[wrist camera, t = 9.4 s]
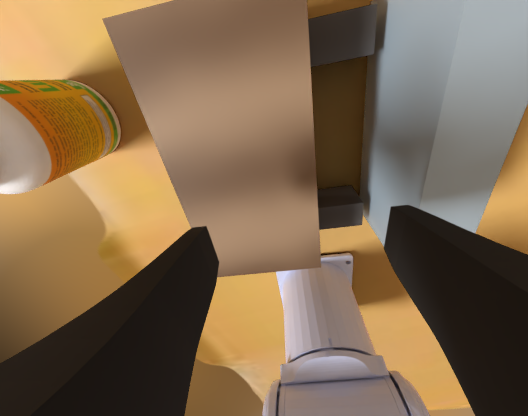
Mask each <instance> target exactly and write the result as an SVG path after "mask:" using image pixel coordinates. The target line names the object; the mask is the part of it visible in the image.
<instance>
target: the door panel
mask: <svg viewBox="0 0 528 416" xmlns="http://www.w3.org/2000/svg"><path fill="white" fill-rule="evenodd" d="M377 3H378V5H377V19H376V33H375V47H374V54H372V55H368V56H367V74H366V91H365V109H364V126H363V143H362V161H361V178H360V196H359V197H360V198H361V200H362V201H363V215H364V217H365V218H366V220H367V221H368V223H369V224H370V226H371V227H372V229H373V230H374V232H375V234H376V235H377V237H378V238H379V240H380V241H381V243H382V244H383V246H384V244H385V238H386V232H387V226H388V220H389V214H390V208H391V206H400V205H410V206H413V207H416V208H418V209H421V210H423V211H426V212H428V213H430V214H432V215H435V216H437V217H439V218H441V219H444V220H446V221H448V222H450V223H453V224H455V225H457V226H459V227H461V228H464V229H466V230H468V231H471V232H473V233H475V232H476V230H477V227H478V225H479V223H480V220H481V218H482V215H483V213H484V210H485V208H486V205H487V203H488V200H489V198H490V195H491V193H492V190H493V188H494V186H495V183H496V181H497V178H498V176H499V173H500V171H501V168H502V166H503V163H504V161H505V158H506V156H507V153H508V151H509V148H510V146H511V144H512V141H513V139H514V136H515V134H516V131H517V129H518V126H519V124H520V121H521V119H522V116H523V114H524V111H525V109H526V107H527V104H528V0H373V1H371V4H370V5H372V4H377Z"/></svg>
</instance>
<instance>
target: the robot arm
mask: <svg viewBox="0 0 528 416" xmlns="http://www.w3.org/2000/svg"><path fill="white" fill-rule="evenodd" d="M384 250H385V252H386V254H387V257H388V259H389V261H390V263H391V265H392V267H393V269H394V272H395V273H396V275H397V276H398V278H399V280H400V281H401V283H402V284H403V286H404V288H405V289H406V291H407V292H408V294H409V296H410V297H411V299H412V300H413V302H414V303H415V305H416V307H417V308H418V310H419V311H420V313H421V314H422V316H423V318H424V319H425V321H426V322H427V324H428V325H429V327H430V329H431V330H432V332H433V334H434V335H435V337H436V339H437V341H438V342H439V344H440V346H441V348H442V350H443V352H444V354H445V356H446V357H447V359H448V361H449V363H450V365H451V367H452V369H453V371H454V373H455V375H456V377H457V379H458V381H459V383H460V385H461V387H462V389H463V391H464V393H465V395H466V397H467V399H468V402H469V404H470V406H471V408H472V410H473V412H474V414H475V416H528V255H527V254H524V253H522V252H519V251H517V250H514V249H511V248H509V247H506V246H504V245H501V244H499V243H496V242H494V241H492V240H489V239H487V238H485V237H482V236H480V235H478V234H475V233H473V232H471V231H468V230H466V229H464V228H461V227H459V226H457V225H455V224H453V223H450V222H448V221H446V220H444V219H441V218H439V217H437V216H435V215H432V214H430V213H428V212H426V211H423V210H421V209H418V208H416V207H413V206H410V205H400V206H391V208H390V214H389V220H388V226H387V232H386V238H385V244H384ZM346 261H348V262H346ZM218 268H219V260H218V257H217V254H216V251H215V248H214V246H213V243H212V240H211V237H210V234H209V231H208V229H207V226H202V227H193V228H191V229H190V230H189V231H187V232H186V233H185V234H184V235H182V236H181V237H180V238H179V239H178V240H177V241H175V242H174V243H173V244H172V245H171V246H170V247H169V248H167V249H166V250H165V251H164V252H163V253H162V254H160V255H159V256H158V257H157V258H156V259H155V260H153V261H152V262H151V263H150V264H149V265H147V266H146V267H145V268H144V269H142V270H141V271H140V272H139V273H138V274H136V275H135V276H134V277H133V278H131V279H130V280H129V281H128V282H126V283H125V284H124V285H123V286H121V287H120V288H118V289H117V290H116V291H114V292H113V293H112V294H110V295H109V296H108V297H106V298H105V299H103V300H102V301H100V302H99V303H98V304H96V305H95V306H93V307H92V308H90V309H89V310H87V311H86V312H85V313H83V314H81V315H80V316H78V317H77V318H75V319H73V320H72V321H70V322H69V323H67V324H66V325H64V326H62V327H61V328H59V329H58V330H56V331H54V332H53V333H51V334H50V335H48V336H47V337H45V338H43V339H42V340H40V341H38V342H37V343H35V344H33V345H31V346H30V347H28V348H26V349H25V350H23V351H21V352H19V353H18V354H16V355H14V356H13V357H11V358H9V359H7V360H6V361H4V362H2V363H0V416H184V414H185V408H186V403H187V398H188V392H189V386H190V381H191V376H192V371H193V366H194V361H195V356H196V352H197V348H198V344H199V340H200V337H201V333H202V330H203V327H204V323H205V320H206V317H207V313H208V310H209V307H210V303H211V300H212V296H213V293H214V289H215V286H216V281H217V275H218ZM352 273H353V256H352V254H350V253H343V254H333V255H323V256H321V268H311V269H300V270H289V271H278V272H276V274H277V279H278V284H279V289H280V294H281V299H282V304H283V309H284V329H285V353H286V364H281V365H280V368H281V380H275V381H273V383H272V384H271V387H270V389H269V390H268V392H267V394H266V397H265V401H264V407H263V416H430V415H429V413H428V410H427V408H426V406H425V405H424V403H423V401H422V399H421V397H420V395H419V394H418V392H417V391H416V389H415V388H414V386H413V385H412V384H411V383H410V382H409V381H408V380H407V379H405V378H404V377H403V376H402V375H401V374H400V373H399V372H398V371H388V370H387V367H386V365H385V362H384V359H383V357H382V356H381V355H376V353H375V350H374V347H373V345H372V342H371V339H370V336H369V334H368V331H367V328H366V326H365V323H364V320H363V317H362V315H361V312H360V309H359V307H358V304H357V301H356V299H355V296H354V293H353V290H352Z"/></svg>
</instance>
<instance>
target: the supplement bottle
mask: <svg viewBox="0 0 528 416" xmlns="http://www.w3.org/2000/svg"><path fill="white" fill-rule="evenodd" d="M120 138H121V128H120V124H119V121H118V118H117V116H116V114H115V112H114V110H113V108H112V107H111V106H110V104H109V103H108V102H107V101H106V100H105V98H104V97H102V96H101V95H100V94H99V93H98V92H97V91H95V90H94V89H92V88H91V87H89V86H87V85H85V84H83V83H80V82H77V81H72V80H20V81H0V193H3V194H18V193H23V192H28V191H30V190H33V189H35V188H38V187H40V186H42V185H44V184H47V183H49V182H51V181H53V180H55V179H57V178H59V177H62V176H63V175H66V174H68V173H70V172H72V171H74V170H77V169H79V168H81V167H83V166H85V165H87V164H89V163H92V162H94V161H96V160H98V159H100V158H102V157H104V156H106V155H108V154H110V153H111V152H113V151H114V150H115V149H116V147H117V146H118V144H119V141H120Z"/></svg>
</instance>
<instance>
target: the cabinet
mask: <svg viewBox="0 0 528 416" xmlns="http://www.w3.org/2000/svg"><path fill="white" fill-rule="evenodd" d="M377 5H378V3H377V4H372V5H368V6H364V7H359V8H355V9H350V10H346V11H342V12H337V13H333V14H329V15H324V16H320V17H316V18H311V19H308V10H307V0H173V1H170V2H166V3H162V4H158V5H154V6H150V7H146V8H143V9H139V10H135V11H131V12H127V13H123V14H119V15H115V16H112V17H108V18H104V19H102V20H103V22H104V24H105V27H106V29H107V31H108V34H109V36H110V38H111V41H112V43H113V45H114V48H115V50H116V52H117V55H118V57H119V60H120V62H121V64H122V67H123V69H124V71H125V74H126V76H127V78H128V81H129V83H130V85H131V88H132V90H133V92H134V95H135V97H136V100H137V102H138V104H139V107H140V109H141V111H142V114H143V116H144V118H145V121H146V123H147V125H148V128H149V130H150V132H151V135H152V137H153V140H154V142H155V144H156V147H157V149H158V151H159V154H160V156H161V158H162V161H163V163H164V165H165V168H166V170H167V172H168V175H169V177H170V180H171V182H172V184H173V187H174V189H175V191H176V194H177V196H178V198H179V201H180V203H181V205H182V208H183V210H184V212H185V215H186V217H187V220H188V222H189V224H190V227H191V228H193V227H202V226H207V229H208V231H209V234H210V237H211V240H212V243H213V246H214V248H215V251H216V254H217V257H218V260H219V268H218V275H217V277H224V276H235V275H246V274H257V273H267V272H278V271H289V270H300V269H311V268H321V254H320V235H319V230H321V229H330V228H339V227H347V226H356V225H362V217H363V201H362V200H361V198H360V197H359V196H358V194H357V193H356V191H355V190H354V189H353V187H352V186H351V185H348V186H341V187H334V188H326V189H319V190H317V179H316V160H315V141H314V122H313V104H312V85H311V67H315V66H320V65H325V64H330V63H335V62H340V61H345V60H350V59H354V58H359V57H363V56H368V55H372V54H374V47H375V33H376V19H377Z"/></svg>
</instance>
